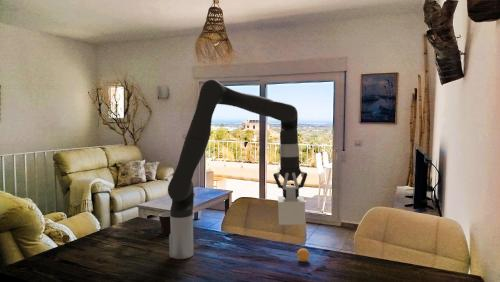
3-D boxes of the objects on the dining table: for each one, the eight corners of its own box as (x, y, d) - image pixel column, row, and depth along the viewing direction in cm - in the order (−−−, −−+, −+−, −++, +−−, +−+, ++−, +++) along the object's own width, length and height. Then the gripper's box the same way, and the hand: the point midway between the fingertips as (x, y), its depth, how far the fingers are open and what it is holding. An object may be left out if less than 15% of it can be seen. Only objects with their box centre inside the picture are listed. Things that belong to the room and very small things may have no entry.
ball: (305, 265, 132) (294, 259, 132) (305, 261, 137) (294, 254, 137) (312, 255, 132) (300, 248, 132) (311, 250, 137) (300, 244, 137)
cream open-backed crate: (278, 224, 130) (277, 189, 129) (278, 217, 140) (277, 184, 139) (305, 224, 129) (304, 188, 128) (303, 217, 139) (302, 183, 138)
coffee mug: (172, 237, 165) (171, 217, 164) (156, 236, 167) (155, 216, 166) (181, 229, 176) (181, 210, 176) (166, 228, 178) (166, 210, 177)
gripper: (271, 156, 130) (273, 200, 131) (308, 155, 129) (309, 200, 130) (271, 154, 137) (273, 196, 138) (306, 153, 136) (308, 195, 137)
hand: (291, 198), depth 134 cm, fingers closed on cream open-backed crate, 3 cm apart
